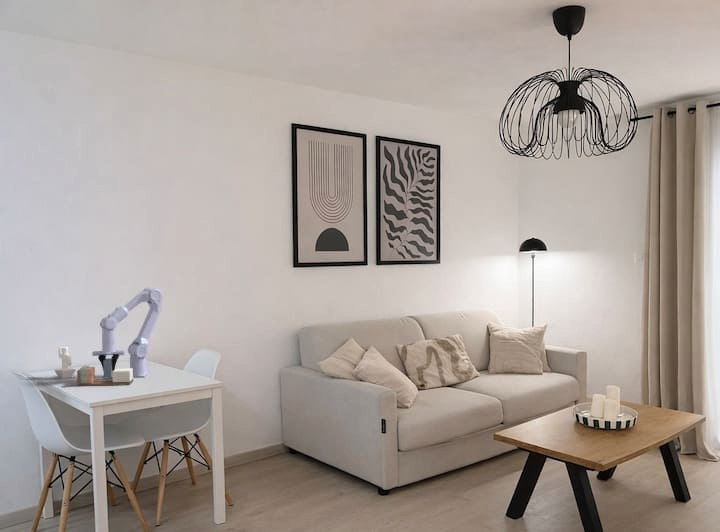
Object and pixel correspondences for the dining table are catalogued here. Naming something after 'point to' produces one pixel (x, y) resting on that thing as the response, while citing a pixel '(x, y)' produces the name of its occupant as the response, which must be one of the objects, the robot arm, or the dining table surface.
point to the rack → (88, 378)
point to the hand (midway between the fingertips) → (108, 370)
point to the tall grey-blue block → (108, 367)
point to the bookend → (123, 375)
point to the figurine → (65, 364)
